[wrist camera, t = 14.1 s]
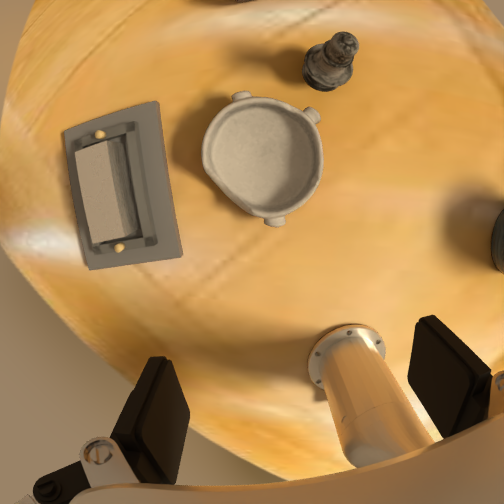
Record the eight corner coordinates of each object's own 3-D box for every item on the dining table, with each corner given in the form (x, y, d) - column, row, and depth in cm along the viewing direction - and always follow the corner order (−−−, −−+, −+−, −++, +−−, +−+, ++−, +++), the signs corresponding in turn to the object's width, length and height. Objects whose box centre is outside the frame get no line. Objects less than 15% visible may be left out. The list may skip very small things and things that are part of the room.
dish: (287, 230, 38) (292, 239, 33) (187, 182, 36) (178, 184, 31) (338, 130, 34) (350, 125, 29) (239, 81, 33) (237, 68, 28)
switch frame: (183, 254, 38) (175, 264, 34) (94, 267, 39) (80, 277, 35) (159, 103, 33) (148, 95, 29) (69, 131, 34) (53, 129, 29)
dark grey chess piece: (294, 83, 33) (312, 48, 21) (307, 47, 31) (328, 3, 19) (337, 100, 33) (372, 74, 21) (349, 64, 32) (385, 29, 20)
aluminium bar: (124, 143, 33) (106, 140, 28) (140, 228, 36) (124, 236, 31) (94, 153, 33) (74, 152, 28) (110, 234, 36) (92, 243, 31)
